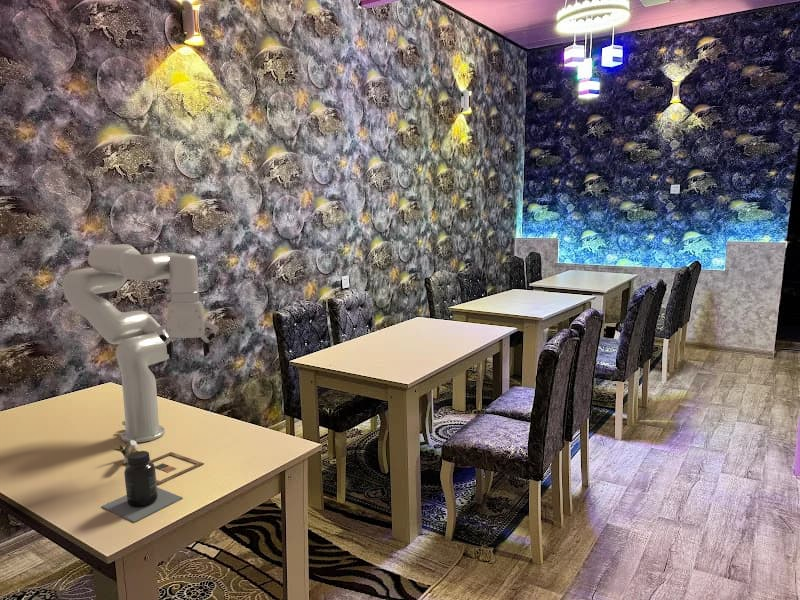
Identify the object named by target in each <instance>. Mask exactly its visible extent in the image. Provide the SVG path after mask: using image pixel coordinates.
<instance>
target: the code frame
mask: <svg viewBox="0 0 800 600" xmlns="http://www.w3.org/2000/svg"><path fill="white" fill-rule="evenodd" d="M171 456H172V457H174V458H176V459H180V460H182V461H186V462H188V463H191V464H194V465H192V466H190V467H188V468H185V469H183V470H181V471H178V472H177V473H174V474H172V475H170V476H168V477H166V478H165V477H164V478H163V479H161V480H159V479H156V482H157V486H160V485H161V484H164V483H166V482H168V481H171V480H173V479H175V478H177V477H179V476H181V475H184V474H186V473H187V472H191V471H192V470H194V469H196V468H199V467H202V466H204V465H205V463H204V462H202V461H199V460H196V459H193V458H189V457H187V456H183V455H181V454H178V453H174V452H172V451H170V452H167V453H164V454H163V455H159V456H157V457H156V458H154V459H150V462H152V463H153V464H154V463H156V462H158V461H159V460H162V459H165V458H167V457H171ZM203 464H204V465H203ZM155 469H157V470H161V471H162V472H165V473H170V472H172V471H175V470H177V467H174V466H171V465H168V464H166V463H164V462H162V463H160V464H158V465H155Z"/></svg>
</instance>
